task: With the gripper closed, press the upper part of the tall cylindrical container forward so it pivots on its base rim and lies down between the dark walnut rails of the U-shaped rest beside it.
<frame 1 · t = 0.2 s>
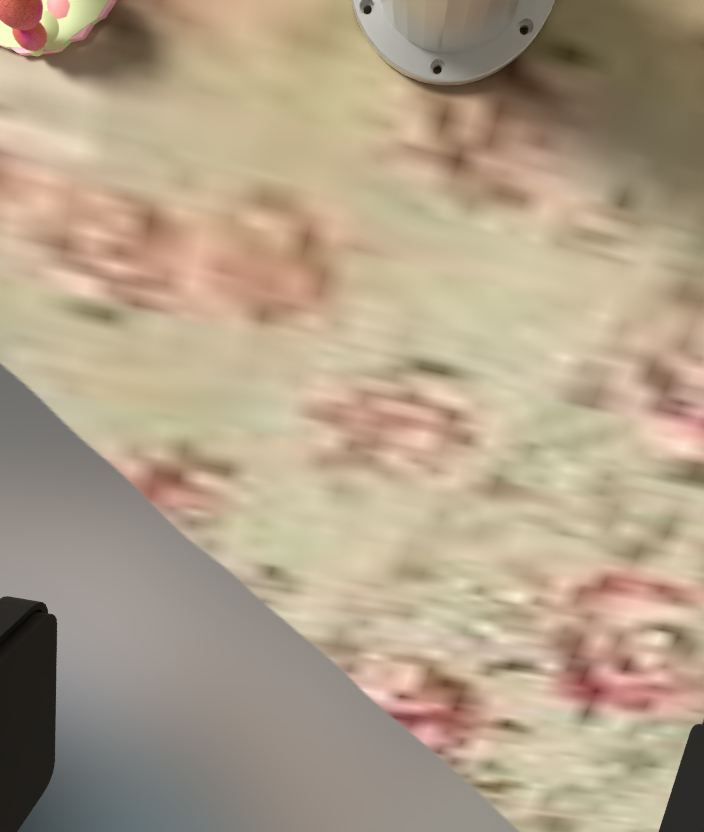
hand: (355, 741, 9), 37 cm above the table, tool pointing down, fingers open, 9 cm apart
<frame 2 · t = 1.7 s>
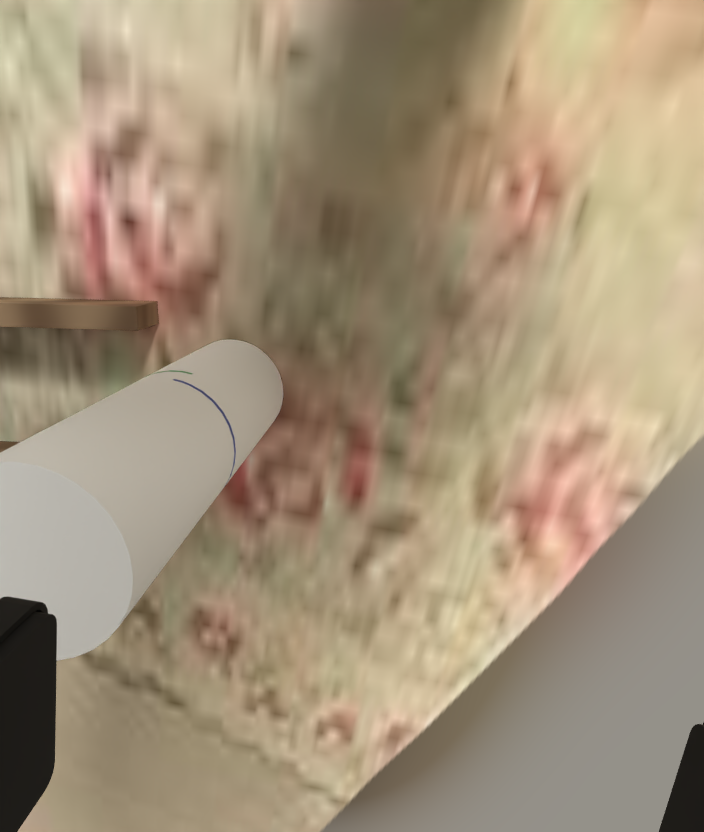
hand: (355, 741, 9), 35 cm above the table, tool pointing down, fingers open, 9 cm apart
cylindrical container: (233, 389, 45), on the table
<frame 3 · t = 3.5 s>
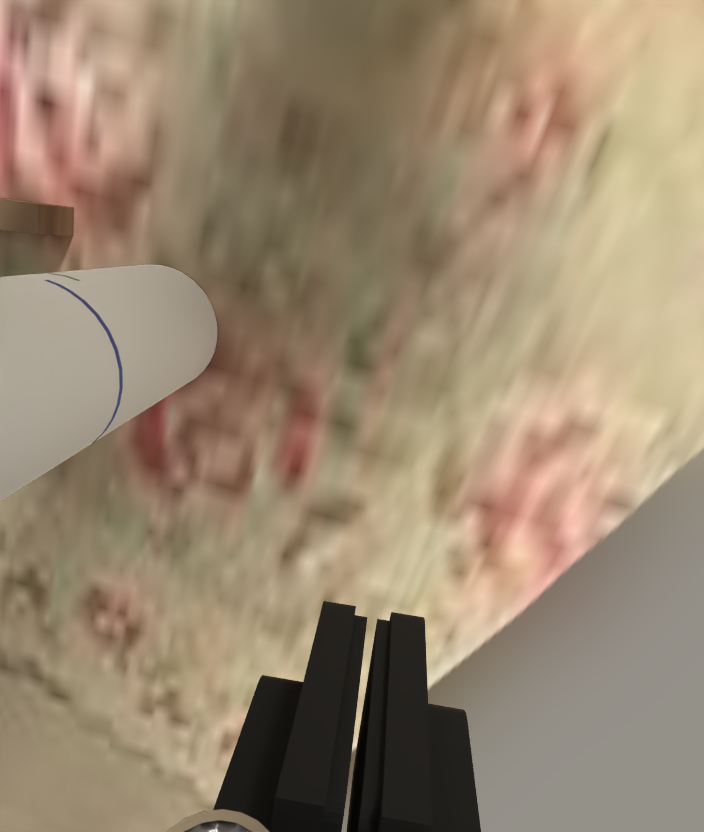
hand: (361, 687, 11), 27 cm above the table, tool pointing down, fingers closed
cylindrical container: (157, 327, 37), on the table
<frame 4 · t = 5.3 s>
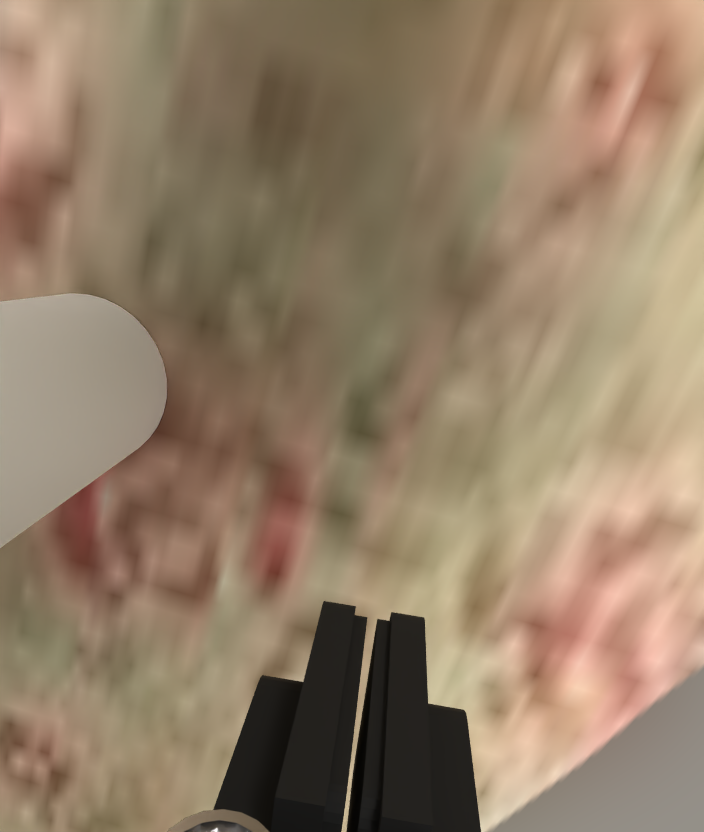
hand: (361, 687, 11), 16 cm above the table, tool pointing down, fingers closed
cylindrical container: (85, 379, 27), on the table
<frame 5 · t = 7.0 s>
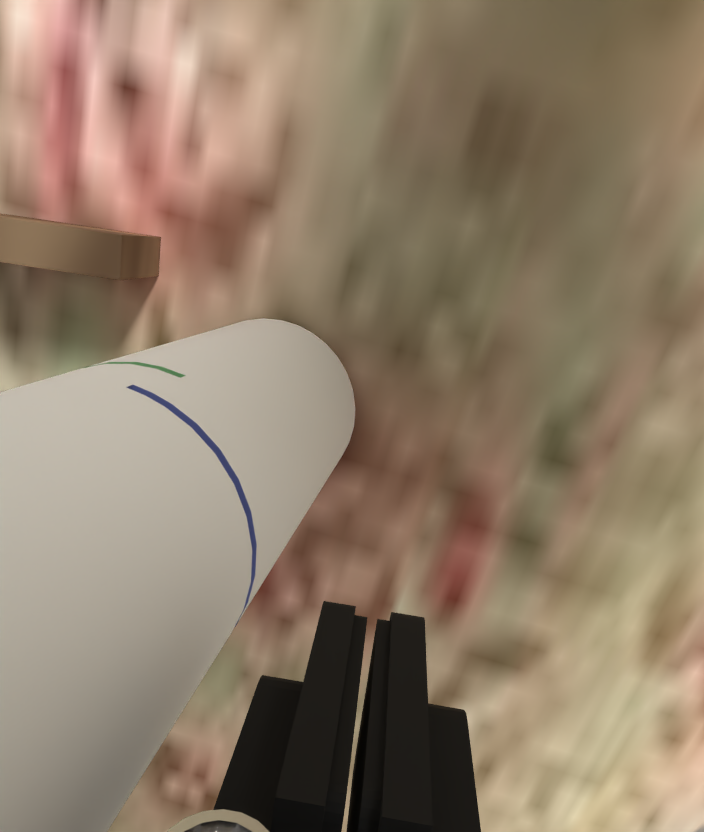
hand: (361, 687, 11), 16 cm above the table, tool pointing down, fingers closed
cylindrical container: (269, 406, 26), on the table, touching gripper
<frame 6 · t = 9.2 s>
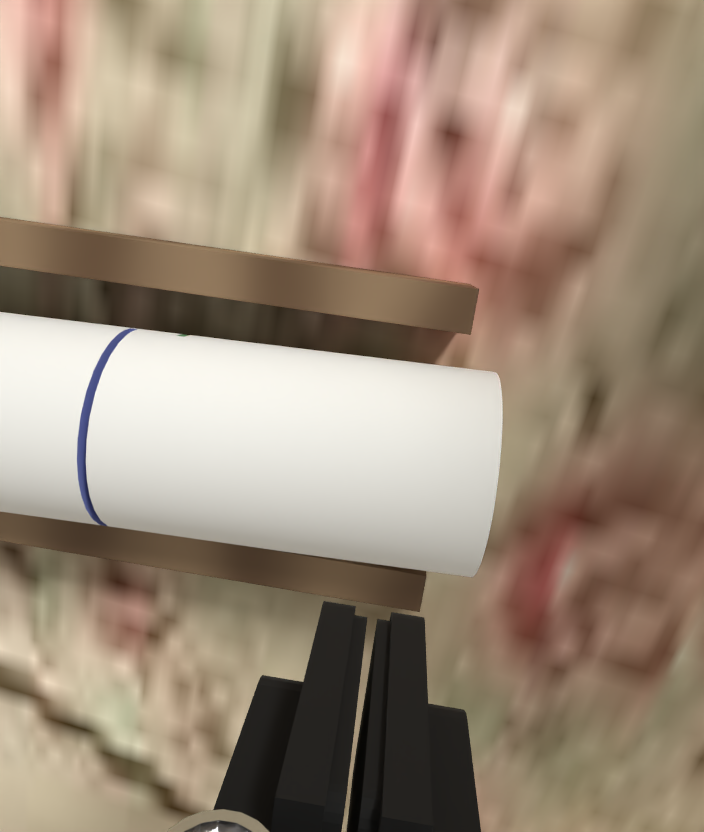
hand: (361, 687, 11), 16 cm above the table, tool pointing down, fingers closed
cylindrical container: (486, 474, 23), point 4 cm above the table, touching U-rest
U-rest: (130, 385, 27), on the table
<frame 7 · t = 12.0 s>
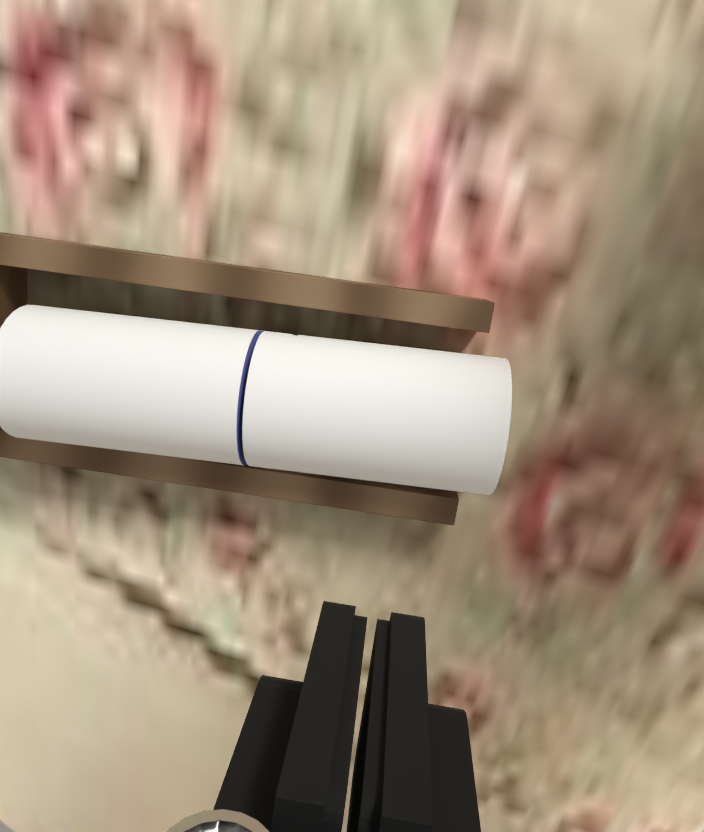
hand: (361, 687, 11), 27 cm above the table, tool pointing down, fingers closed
cylindrical container: (499, 427, 34), point 4 cm above the table, touching U-rest
U-rest: (243, 372, 37), on the table
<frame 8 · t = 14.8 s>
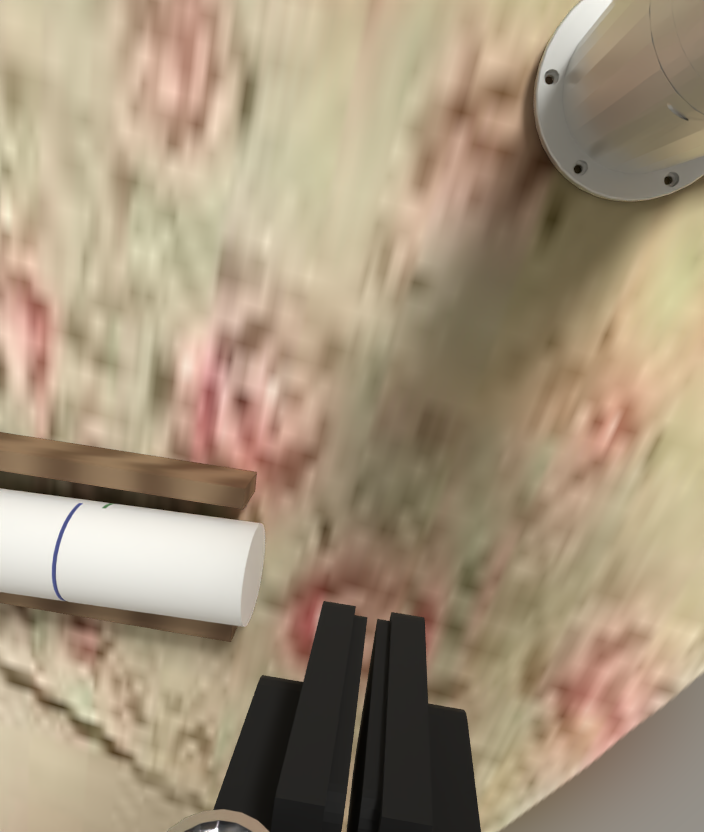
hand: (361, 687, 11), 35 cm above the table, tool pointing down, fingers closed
cylindrical container: (256, 574, 45), point 4 cm above the table, touching U-rest
U-rest: (83, 519, 50), on the table
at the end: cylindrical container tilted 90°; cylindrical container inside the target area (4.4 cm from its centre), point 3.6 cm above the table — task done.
